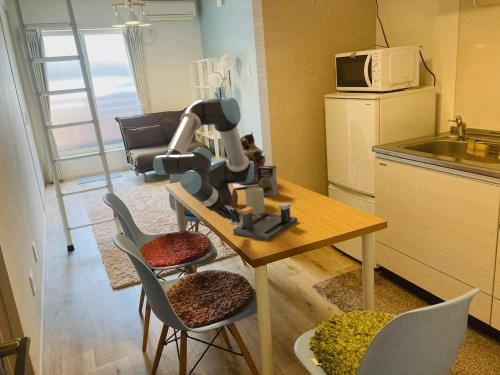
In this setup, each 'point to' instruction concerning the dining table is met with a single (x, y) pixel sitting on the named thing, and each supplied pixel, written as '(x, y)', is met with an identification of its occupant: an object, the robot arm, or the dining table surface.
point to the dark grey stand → (268, 224)
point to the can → (255, 199)
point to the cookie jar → (251, 159)
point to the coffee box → (267, 180)
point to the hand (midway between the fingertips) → (240, 224)
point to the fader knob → (247, 217)
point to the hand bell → (236, 205)
